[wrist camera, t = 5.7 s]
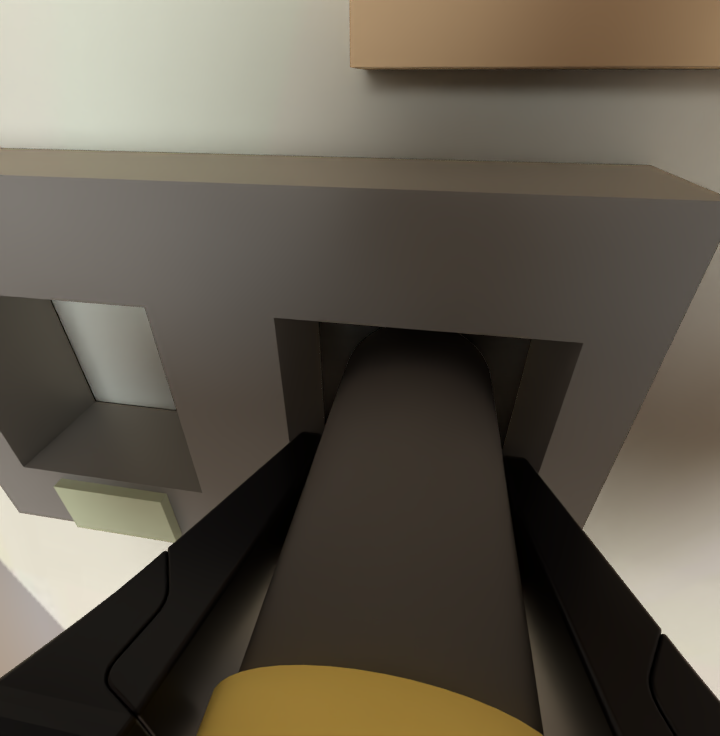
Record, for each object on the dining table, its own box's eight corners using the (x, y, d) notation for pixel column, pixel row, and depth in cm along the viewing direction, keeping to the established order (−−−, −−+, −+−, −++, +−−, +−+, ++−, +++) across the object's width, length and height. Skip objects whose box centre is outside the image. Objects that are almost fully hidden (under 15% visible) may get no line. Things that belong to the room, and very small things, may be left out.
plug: (515, 321, 9) (688, 921, 3) (485, 453, 11) (535, 954, 5) (334, 307, 10) (103, 774, 3) (339, 436, 12) (209, 865, 5)
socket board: (650, 165, 8) (753, 206, 5) (531, 505, 14) (551, 609, 11) (-64, 146, 10) (-245, 169, 8) (85, 446, 16) (11, 520, 13)
